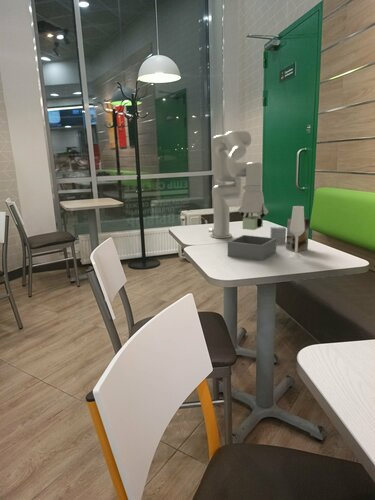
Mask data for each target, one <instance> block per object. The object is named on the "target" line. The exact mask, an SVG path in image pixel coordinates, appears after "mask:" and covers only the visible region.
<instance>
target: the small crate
mask: <svg viewBox="0 0 375 500" xmlns="http://www.w3.org/2000/svg"><path fill="white" fill-rule="evenodd" d="M257 220H258V215H250V216H249V215H248V217H246V218H243V217H242V230H250V231H255V230H257V229H260V228H262V227H263V224H264V223H263V221H264V217H263V218H262V225H261V227H257Z"/></svg>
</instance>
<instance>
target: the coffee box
mask: <svg viewBox="0 0 375 500" xmlns="http://www.w3.org/2000/svg"><path fill="white" fill-rule="evenodd" d="M291 218H292V217H290V218H287V223H286V225H287V226H286V227H287V229H286V239H285V244H286V246H285V248H286V249H285V250H288V251H291V252H295V239H296V237H295V236H294V235H293V234H292V233H291V232H290V225H291ZM304 225H305V231H304V232H303V234H302V235H300V236H299V237H298V250H297V252H298V251H306V250H308V248H309V246H308V245H309V231H310V218H307V217H304Z"/></svg>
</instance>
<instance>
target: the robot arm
mask: <svg viewBox="0 0 375 500" xmlns="http://www.w3.org/2000/svg"><path fill="white" fill-rule="evenodd" d="M251 143H252V136H251V133H250V132H249V131H247V130H230V131H227V132H226V133H225V134H217V135H214V136H213V137H212V139H211V146H210V147H211V151H212V155H213V161H214V162H213V163H214V164H213V165H214V166H213V169H214V170H213V171H214V173H213V174H214V175H213V176H214V177H213V178H214V180H215V181H216V182H217V183H225V184H215V185H214V186H213V187H212V190H211V195H212V197H211V198H212V202H213V228H209V229H208V233H211V234H210V235H211V237H212V238H214V239H227V238H228V239H230V238H231V237H233V236H232V235H233V234H232V233H230V206H229V204H228V203H227V202H226V201H236V200H239V199H240V197H241V194H242V190H244V191H243V194H242V197H241V198H242V200H241V206H240V207H239V208H238V212H239V214H240V215H241V216H242V219H243V218H246V217H249V214H256V216H258V220H257V227H260V228H262V227H261V225H262V218H263V219H264V217H265V216H266V215H267V214H268V213H269V212H270V211H269V210H268V209H267V207H266V206H265V197H264V192H263V191H262V184H263V179H262V177H263V165H262V163H261V162H260V161H259V162H258V161H238V160H241V159H242V158H244V156H245V155H246V154H247V148H248V147H249V146H250V145H251ZM227 151H228V153H227ZM242 178H243V179H245V185H244V186H242ZM227 183H229V184H227Z"/></svg>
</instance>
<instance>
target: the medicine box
mask: <svg viewBox="0 0 375 500" xmlns="http://www.w3.org/2000/svg"><path fill="white" fill-rule="evenodd" d="M269 235H270V237H269V238H277V241H276V244H286V240H287V229H286V226H271V227H270V234H269Z"/></svg>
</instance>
